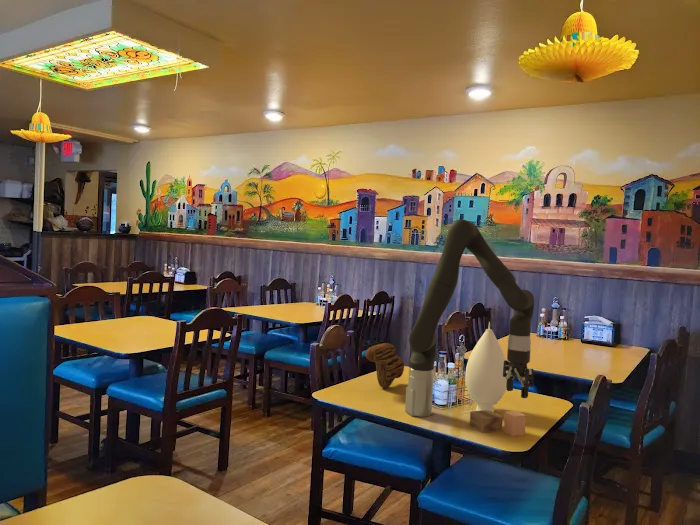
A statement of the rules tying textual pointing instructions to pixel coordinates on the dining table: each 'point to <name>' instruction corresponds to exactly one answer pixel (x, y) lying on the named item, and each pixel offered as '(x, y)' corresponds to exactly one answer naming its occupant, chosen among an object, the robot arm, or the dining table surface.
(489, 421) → the walnut block
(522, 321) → the robot arm
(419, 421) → the dining table surface
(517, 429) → the light wooden cube
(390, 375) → the sculpture
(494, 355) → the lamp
